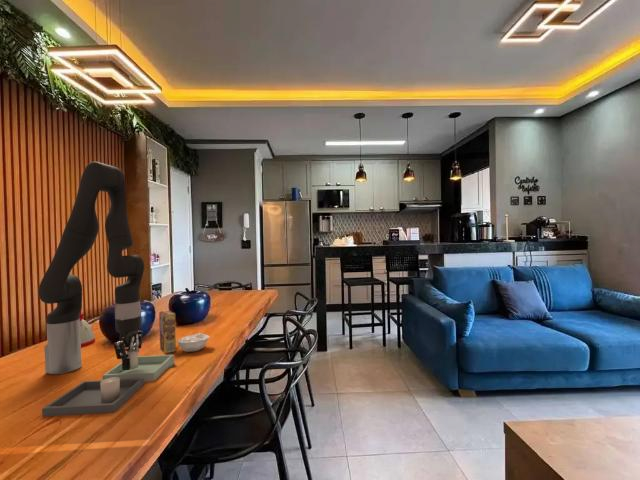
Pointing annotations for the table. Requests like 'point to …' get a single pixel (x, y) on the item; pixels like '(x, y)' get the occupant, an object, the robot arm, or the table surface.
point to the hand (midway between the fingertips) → (130, 366)
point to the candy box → (167, 331)
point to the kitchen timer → (86, 333)
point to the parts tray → (91, 399)
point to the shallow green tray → (143, 368)
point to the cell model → (193, 342)
